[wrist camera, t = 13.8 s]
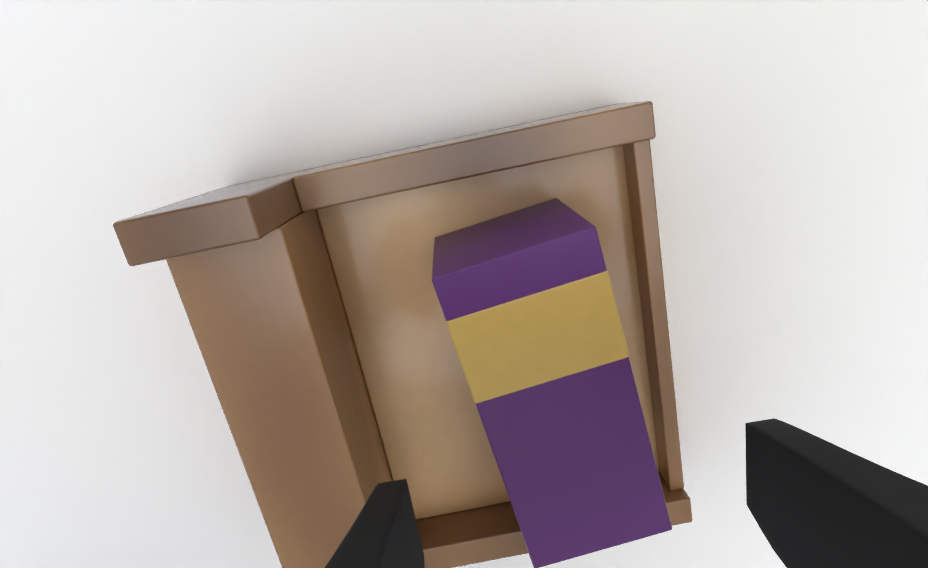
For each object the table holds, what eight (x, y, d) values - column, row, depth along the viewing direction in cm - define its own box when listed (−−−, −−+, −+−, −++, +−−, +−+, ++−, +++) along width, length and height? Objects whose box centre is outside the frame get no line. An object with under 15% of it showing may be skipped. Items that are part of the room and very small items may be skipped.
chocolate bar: (514, 470, 20) (533, 570, 15) (433, 237, 17) (430, 279, 13) (622, 438, 19) (674, 530, 15) (557, 197, 17) (597, 225, 13)
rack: (339, 530, 22) (298, 694, 16) (226, 186, 18) (110, 222, 12) (659, 468, 22) (747, 610, 15) (619, 103, 18) (714, 95, 11)
